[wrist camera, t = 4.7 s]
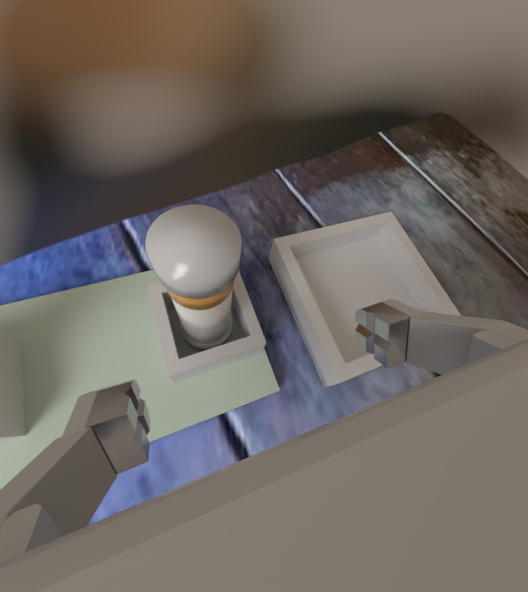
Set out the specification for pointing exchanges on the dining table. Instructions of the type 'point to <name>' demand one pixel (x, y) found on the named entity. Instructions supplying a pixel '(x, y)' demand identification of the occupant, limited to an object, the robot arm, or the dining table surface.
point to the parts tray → (350, 286)
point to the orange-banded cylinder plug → (197, 269)
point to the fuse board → (118, 362)
